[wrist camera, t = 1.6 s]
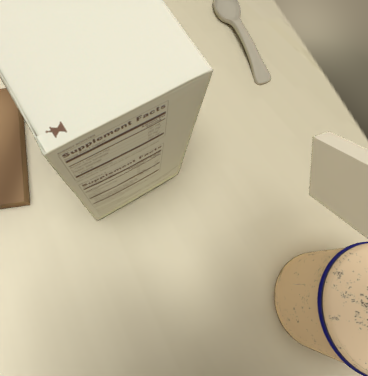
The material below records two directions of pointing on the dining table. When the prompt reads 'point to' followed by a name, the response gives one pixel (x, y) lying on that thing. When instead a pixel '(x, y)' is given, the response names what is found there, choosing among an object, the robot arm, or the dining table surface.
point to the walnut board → (12, 155)
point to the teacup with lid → (328, 303)
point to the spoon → (242, 37)
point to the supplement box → (104, 91)
